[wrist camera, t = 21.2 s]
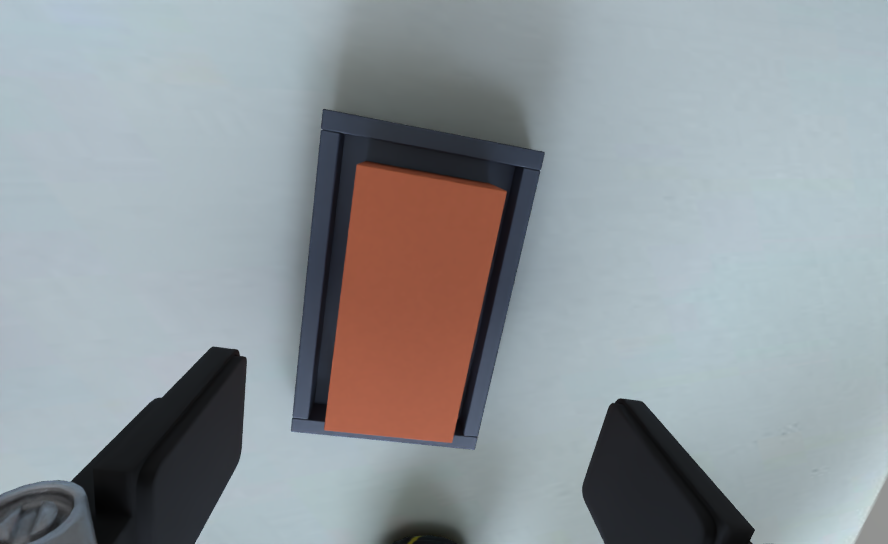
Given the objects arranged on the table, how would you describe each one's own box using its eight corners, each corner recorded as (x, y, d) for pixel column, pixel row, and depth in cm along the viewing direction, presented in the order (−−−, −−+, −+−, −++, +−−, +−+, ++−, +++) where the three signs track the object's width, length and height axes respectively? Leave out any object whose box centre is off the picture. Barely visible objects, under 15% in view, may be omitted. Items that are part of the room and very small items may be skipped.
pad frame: (331, 112, 20) (322, 108, 18) (532, 151, 21) (545, 152, 19) (300, 407, 24) (290, 431, 22) (469, 425, 25) (475, 450, 23)
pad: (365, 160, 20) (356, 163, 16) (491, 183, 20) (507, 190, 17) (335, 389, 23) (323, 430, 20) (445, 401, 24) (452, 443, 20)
